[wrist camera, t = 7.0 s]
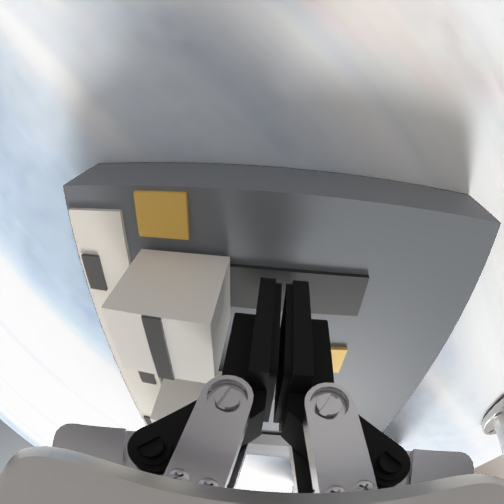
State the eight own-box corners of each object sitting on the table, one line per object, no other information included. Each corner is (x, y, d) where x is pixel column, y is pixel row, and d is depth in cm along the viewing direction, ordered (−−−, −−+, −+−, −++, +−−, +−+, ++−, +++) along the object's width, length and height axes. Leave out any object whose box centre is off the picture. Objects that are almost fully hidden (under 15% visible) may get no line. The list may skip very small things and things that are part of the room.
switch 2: (234, 372, 15) (224, 434, 12) (234, 401, 17) (225, 455, 14) (169, 363, 15) (149, 420, 12) (176, 393, 17) (161, 444, 14)
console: (469, 195, 12) (505, 227, 9) (358, 428, 24) (361, 459, 21) (98, 163, 13) (58, 189, 10) (161, 410, 25) (151, 440, 22)
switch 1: (229, 256, 11) (209, 327, 8) (230, 316, 13) (215, 386, 10) (141, 248, 12) (99, 309, 9) (152, 306, 13) (122, 369, 10)
